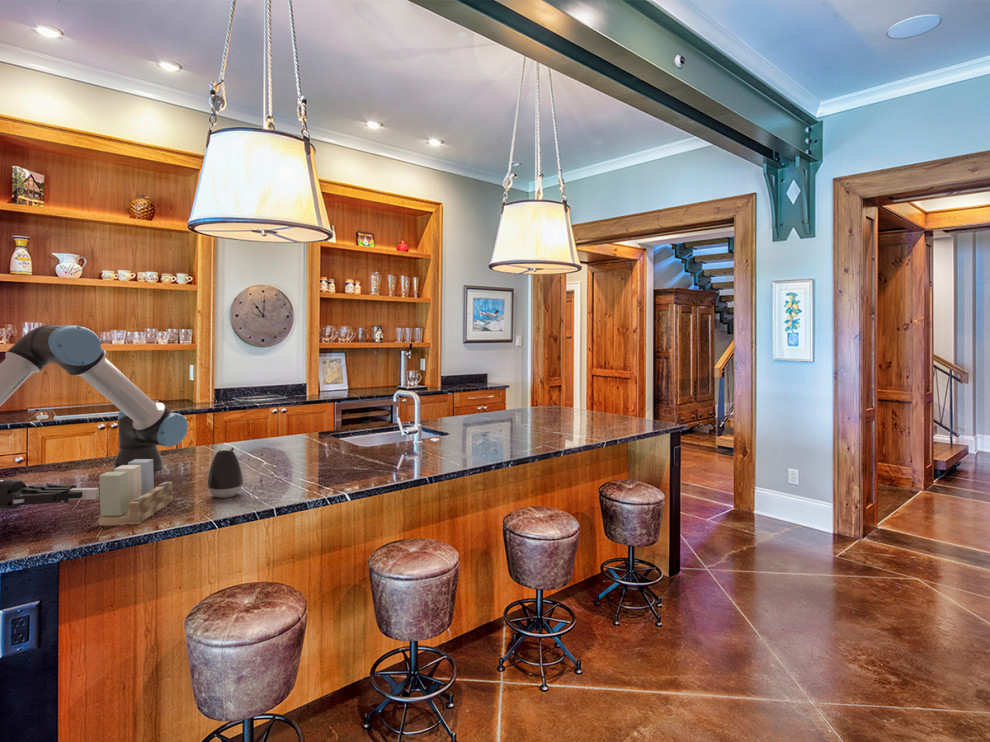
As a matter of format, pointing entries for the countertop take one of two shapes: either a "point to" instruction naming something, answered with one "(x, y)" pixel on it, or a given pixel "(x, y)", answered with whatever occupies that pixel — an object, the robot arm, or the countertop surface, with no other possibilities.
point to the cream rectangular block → (132, 480)
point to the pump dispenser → (225, 474)
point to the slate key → (145, 473)
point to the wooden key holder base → (142, 506)
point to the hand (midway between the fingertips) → (97, 493)
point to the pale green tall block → (114, 493)
